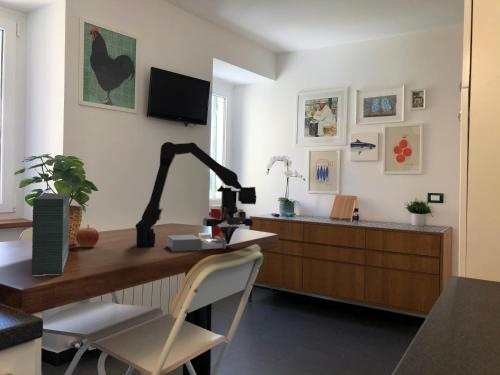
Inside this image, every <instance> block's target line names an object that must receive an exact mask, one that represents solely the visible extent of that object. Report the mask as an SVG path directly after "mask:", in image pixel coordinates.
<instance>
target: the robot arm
mask: <svg viewBox="0 0 500 375" xmlns="http://www.w3.org/2000/svg"><path fill="white" fill-rule="evenodd" d="M186 154H191V155H193V156H194V158H196V159H197V160H198V161H200V162H201V163H202V164H203V165H204V166H206V167H207V168H208V169H209V170H211V171H212V172H213V173H214V174H215V175H216V176H217V178H218V179H219V180H220V181H221V182H222V183H223V185H225V186H228V187H224V186H223V185H220V187H219V188H218V189H217V190H216V191H217V192H219V193H220V192H221V204H220V205H221V216H220V219H221V220H217V219H216V218H211V217H204V218H203V219H202V225H203V226H204V227H211V226H216V225H217V224H218V225H217V227H219V228H220V229H221V231H222V234H223V236H224V237H223V239H224V240H226V245H229V244H230V242H231V239H232V238H233V235H234V232H236V230H237V229H240V225H244V226H246V227H253V226H254V220H253V218H251V217H247V213H246V211H239V212H238V206H237V201H238V202H240V205H256V203H257V192H256V187H255V186H249V187H248V186H247V187H245V186H243V187H242V184H240V182H239V177H238V175H237V173H236V172H234V171H233V170H231V169H229V168H228V167H225V166H223V165H222V164H221V163H218V161H216V160H215V159H214V158H212V157H211V156H210V155H209V154H207V152H205V151H204V150H203V149H202V148H201V147H199V146H198V145H197V144H196V143H195V142H188V143H187V142H186V143H173V142H171V141H165V142H164V143H163V144H161V146H160V156H159V166H158V170H157V173H156V177H155V181H154V184H153V188H152V193H151V195H150V199H149V201H148V203H147V205H146V207H145V209H144V212H143V213H142V216H141V219H140V220H139V221H138V222H137V223H136V224H135V243H134V246H135V247H136V248H145V247H146V248H147V247H151V248H152V247H155V244H156V233H155V229H154V226H155V225H156V224H157V223H158V221H160V220H161V216H162V212H163V210H164V208H163V207H161V200H162V196H163V193H164V190H165V186H166V182H167V178H168V174H169V171H170V168H171V166H172V164H173V163H174V161H175V158H176V156H177V155H186ZM232 187H233V188H234V189H236V190H232Z"/></svg>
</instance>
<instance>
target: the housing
mask: <svg viewBox="0 0 500 375" xmlns="http://www.w3.org/2000/svg"><path fill="white" fill-rule="evenodd" d="M166 246H167V248H169V249H170V250H171V251H172V252H185V251H189V250H191V251H202V250H203V249H202V240H201V239H200V238H199V236H197V235H195V234H175V235H174V234H173V235H171V234H170V235H169V234H167V236H166ZM189 252H190V251H189Z"/></svg>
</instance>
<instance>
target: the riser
mask: <svg viewBox="0 0 500 375" xmlns="http://www.w3.org/2000/svg"><path fill="white" fill-rule="evenodd" d="M198 238H200V239H212V233H208V232H201V233H200V232H199V233H198Z"/></svg>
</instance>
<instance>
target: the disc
mask: <svg viewBox="0 0 500 375" xmlns="http://www.w3.org/2000/svg"><path fill="white" fill-rule="evenodd" d="M201 240H202V244H212V243H218V240H216V239H215V238H214V239H213V238H211V239H201Z"/></svg>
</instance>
